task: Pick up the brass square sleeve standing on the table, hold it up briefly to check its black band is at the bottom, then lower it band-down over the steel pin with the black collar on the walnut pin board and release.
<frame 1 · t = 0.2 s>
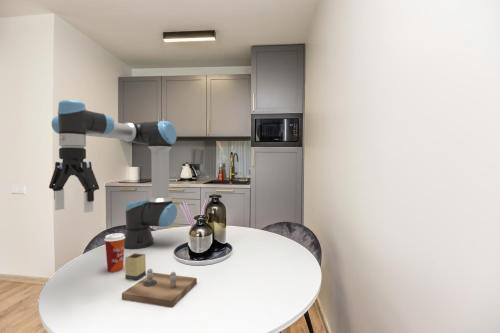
hand: (73, 210, 88), 27 cm above the table, fingers open, 13 cm apart
paper cup: (115, 269, 107), on the table
pin board: (161, 290, 88), on the table
sleeve: (135, 276, 99), on the table
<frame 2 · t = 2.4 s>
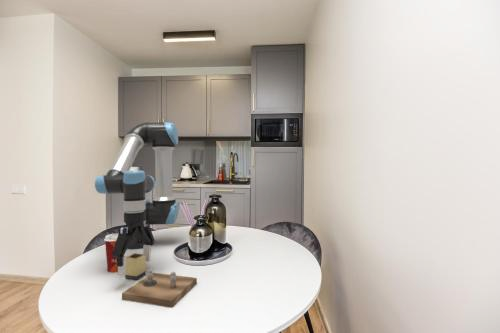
hand: (135, 267, 99), 4 cm above the table, fingers open, 13 cm apart
nothing on the table moved.
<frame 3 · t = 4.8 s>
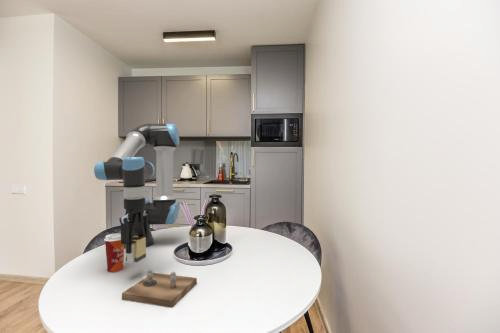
hand: (136, 258, 100), 7 cm above the table, fingers closed on sleeve, 5 cm apart
sleeve: (136, 259, 100), point 7 cm above the table, touching gripper
everything else where it was.
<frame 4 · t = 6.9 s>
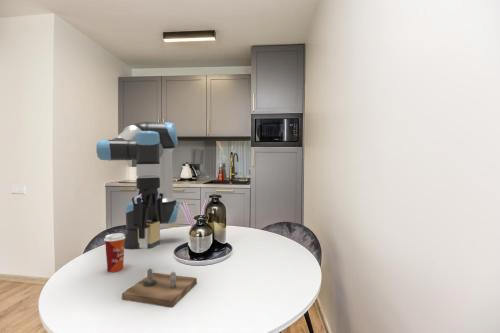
hand: (149, 245, 89), 15 cm above the table, fingers closed on sleeve, 5 cm apart
sleeve: (149, 245, 89), point 15 cm above the table, touching gripper
everything else where it was.
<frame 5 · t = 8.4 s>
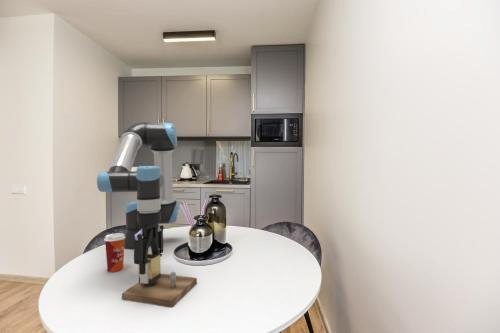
hand: (149, 278, 89), 4 cm above the table, fingers closed on sleeve, 5 cm apart
sleeve: (149, 279, 89), point 3 cm above the table, touching gripper
everything else where it was.
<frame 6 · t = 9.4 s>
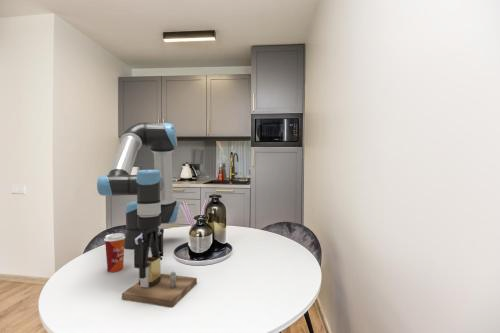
hand: (150, 282, 89), 2 cm above the table, fingers closed on sleeve, 5 cm apart
sleeve: (149, 282, 90), point 2 cm above the table, touching gripper, pin board
everything else where it was.
when the fingers open (2 cm above the table, at t = 9.4 s): sleeve stays where it is, resting on pin board.
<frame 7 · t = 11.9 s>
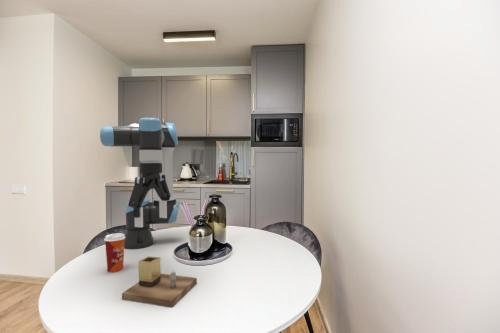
hand: (151, 222, 93), 22 cm above the table, fingers open, 13 cm apart
sleeve: (149, 282, 90), point 2 cm above the table, touching pin board
everything else where it was.
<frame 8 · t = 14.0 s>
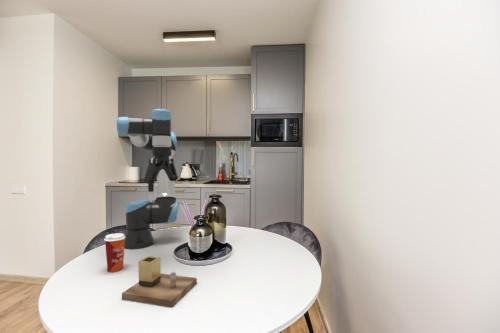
hand: (162, 197, 110), 29 cm above the table, fingers open, 13 cm apart
nothing on the table moved.
at the end: sleeve 0.1 cm from the target spot on the pin board, point 2.3 cm above the pin board's base; sleeve tilted 0°; the gripper is holding nothing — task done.
